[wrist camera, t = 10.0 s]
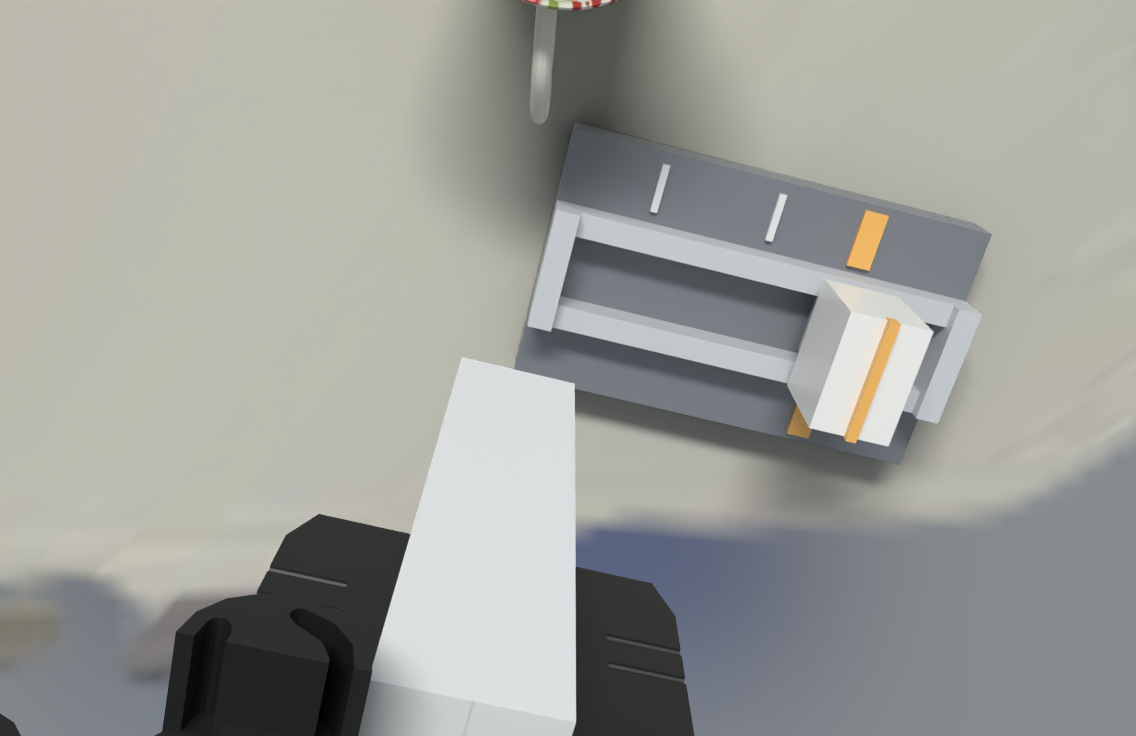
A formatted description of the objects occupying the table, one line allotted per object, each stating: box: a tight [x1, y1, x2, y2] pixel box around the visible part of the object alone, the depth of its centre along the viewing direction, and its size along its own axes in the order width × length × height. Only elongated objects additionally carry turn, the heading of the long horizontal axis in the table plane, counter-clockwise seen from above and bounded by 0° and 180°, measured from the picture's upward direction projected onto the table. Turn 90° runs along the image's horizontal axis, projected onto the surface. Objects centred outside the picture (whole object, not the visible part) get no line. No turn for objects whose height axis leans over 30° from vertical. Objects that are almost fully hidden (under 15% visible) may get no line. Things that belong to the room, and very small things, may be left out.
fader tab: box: [787, 279, 933, 446], centre depth 42 cm, size 3×5×6 cm, turn 166°
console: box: [515, 122, 992, 465], centre depth 45 cm, size 18×11×4 cm, turn 76°
